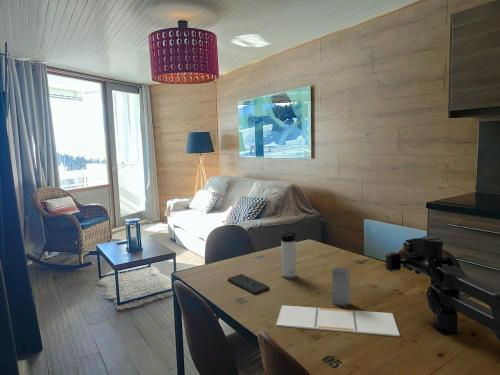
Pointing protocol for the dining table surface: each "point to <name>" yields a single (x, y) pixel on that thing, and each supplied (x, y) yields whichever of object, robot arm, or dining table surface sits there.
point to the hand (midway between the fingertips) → (397, 253)
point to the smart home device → (248, 284)
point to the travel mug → (288, 255)
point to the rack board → (338, 320)
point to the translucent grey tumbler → (341, 286)
